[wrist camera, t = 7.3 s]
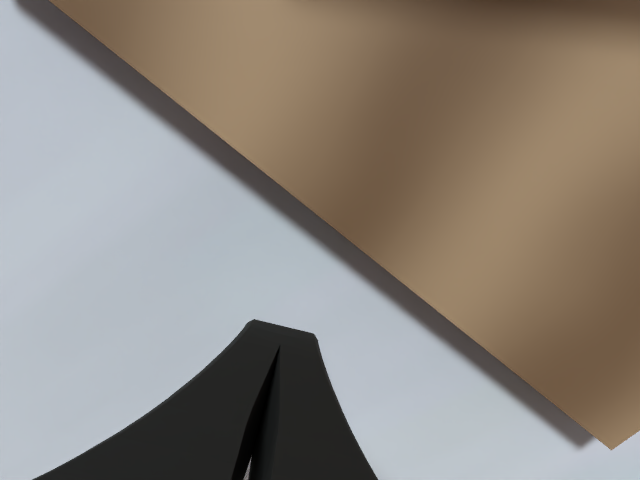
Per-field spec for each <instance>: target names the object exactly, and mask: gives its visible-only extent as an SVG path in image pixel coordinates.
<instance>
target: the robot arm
mask: <svg viewBox="0 0 640 480" xmlns="http://www.w3.org/2000/svg"><path fill="white" fill-rule="evenodd" d="M251 456H252V458H251ZM250 459H251V465H250V472H249V480H378V479H377V477H376V475H375V474H374V472H373V470H372V468H371V467H370V465H369V463H368V461H367V460H366V458H365V456H364V454H363V452H362V450H361V448H360V447H359V445H358V443H357V441H356V439H355V437H354V435H353V433H352V431H351V429H350V427H349V424H348V422H347V420H346V418H345V416H344V414H343V411H342V409H341V407H340V404H339V402H338V399H337V397H336V395H335V392H334V390H333V387H332V385H331V382H330V380H329V377H328V374H327V371H326V368H325V365H324V362H323V359H322V356H321V352H320V348H319V344H318V340H317V338H316V337H315V335H314V334H313V333H309V332H305V331H301V330H296V329H292V328H288V327H284V326H280V325H276V324H272V323H267V322H263V321H259V320H255V319H254V320H252V321H250V322H248V323H247V324H246V326H245V327H244V328H243V330H242V331H241V332H240V333H239V334H238V336H237V337H236V338H235V339H234V340H233V341H232V342H231V343H230V344H229V345H228V346H227V347H226V348H225V349H224V350H223V351H222V352H221V353H220V354H219V355H218V356H217V357H216V358H215V359H214V360H213V361H212V362H211V363H209V364H208V365H207V366H206V367H205V368H204V369H203V370H202V371H201V372H200V373H199V374H197V375H196V376H195V377H194V378H193V379H191V380H190V381H189V382H188V383H186V384H185V385H184V386H183V387H181V388H180V389H179V390H178V391H176V392H175V393H174V394H173V395H171V396H170V397H169V398H168V399H166V400H165V401H164V402H162V403H161V404H159V405H158V406H157V407H155V408H154V409H153V410H151V411H150V412H148V413H147V414H145V415H144V416H143V417H141V418H140V419H138V420H136V421H135V422H133V423H132V424H130V425H129V426H127V427H126V428H124V429H123V430H121V431H120V432H118V433H116V434H115V435H113V436H111V437H110V438H108V439H106V440H105V441H103V442H101V443H100V444H98V445H96V446H94V447H93V448H91V449H89V450H88V451H86V452H84V453H83V454H81V455H79V456H77V457H75V458H74V459H72V460H70V461H68V462H66V463H65V464H63V465H61V466H59V467H57V468H55V469H53V470H51V471H49V472H47V473H45V474H43V475H41V476H39V477H37V478H35V479H33V480H243V479H244V476H245V473H246V471H247V468H248V465H249V462H250Z"/></svg>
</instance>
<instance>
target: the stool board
mask: <svg viewBox="0 0 640 480" xmlns="http://www.w3.org/2000/svg"><path fill="white" fill-rule="evenodd" d="M49 1H50V2H51V3H53V4H54V5H55V6H56V7H58V8H59V9H60V10H61V11H63V12H64V13H65V14H66V15H68V16H69V17H70V18H71V19H73V20H74V21H75V22H76V23H78V24H79V25H80V26H81V27H83V28H84V29H85V30H86V31H88V32H89V33H90V34H91V35H93V36H94V37H95V38H96V39H98V40H99V41H100V42H101V43H103V44H104V45H105V46H106V47H108V48H109V49H110V50H111V51H113V52H114V53H115V54H116V55H118V56H119V57H120V58H121V59H123V60H124V61H125V62H126V63H128V64H129V65H130V66H131V67H133V68H134V69H135V70H136V71H138V72H139V73H140V74H141V75H143V76H144V77H145V78H146V79H148V80H149V81H150V82H151V83H153V84H154V85H155V86H156V87H158V88H159V89H160V90H161V91H163V92H164V93H165V94H166V95H168V96H169V97H170V98H171V99H173V100H174V101H175V102H176V103H178V104H179V105H180V106H181V107H183V108H184V109H185V110H186V111H188V112H189V113H190V114H191V115H193V116H194V117H195V118H196V119H198V120H199V121H200V122H201V123H203V124H204V125H205V126H206V127H208V128H209V129H210V130H211V131H213V132H214V133H215V134H216V135H218V136H219V137H220V138H221V139H223V140H224V141H225V142H226V143H228V144H229V145H230V146H231V147H233V148H234V149H235V150H236V151H238V152H239V153H240V154H241V155H243V156H244V157H245V158H246V159H248V160H249V161H250V162H251V163H253V164H254V165H255V166H256V167H258V168H259V169H260V170H261V171H263V172H264V173H265V174H266V175H268V176H269V177H270V178H271V179H273V180H274V181H275V182H276V183H278V184H279V185H280V186H281V187H283V188H284V189H285V190H287V191H288V192H289V193H290V194H292V195H293V196H294V197H295V198H297V199H298V200H299V201H300V202H302V203H303V204H304V205H305V206H307V207H308V208H309V209H310V210H312V211H313V212H314V213H315V214H317V215H318V216H319V217H320V218H322V219H323V220H324V221H325V222H327V223H328V224H329V225H330V226H332V227H333V228H334V229H335V230H337V231H338V232H339V233H340V234H342V235H343V236H344V237H345V238H347V239H348V240H349V241H350V242H352V243H353V244H354V245H355V246H357V247H358V248H359V249H360V250H362V251H363V252H364V253H365V254H367V255H368V256H369V257H370V258H372V259H373V260H374V261H375V262H377V263H378V264H379V265H380V266H382V267H383V268H384V269H385V270H387V271H388V272H389V273H390V274H392V275H393V276H394V277H395V278H397V279H398V280H399V281H400V282H402V283H403V284H404V285H405V286H407V287H408V288H409V289H410V290H412V291H413V292H414V293H415V294H417V295H418V296H419V297H420V298H422V299H423V300H424V301H425V302H427V303H428V304H429V305H430V306H432V307H433V308H434V309H435V310H437V311H438V312H439V313H440V314H442V315H443V316H444V317H445V318H447V319H448V320H449V321H450V322H452V323H453V324H454V325H455V326H457V327H458V328H459V329H460V330H462V331H463V332H464V333H465V334H467V335H468V336H469V337H470V338H472V339H473V340H474V341H475V342H477V343H478V344H479V345H480V346H482V347H483V348H484V349H485V350H487V351H488V352H489V353H490V354H492V355H493V356H494V357H495V358H497V359H498V360H499V361H500V362H502V363H503V364H504V365H505V366H507V367H508V368H509V369H510V370H512V371H513V372H514V373H515V374H517V375H518V376H519V377H520V378H522V379H523V380H524V381H525V382H527V383H528V384H529V385H530V386H532V387H533V388H534V389H535V390H537V391H538V392H539V393H540V394H542V395H543V396H544V397H545V398H547V399H548V400H549V401H550V402H552V403H553V404H554V405H555V406H557V407H558V408H559V409H560V410H562V411H563V412H564V413H565V414H567V415H568V416H569V417H570V418H572V419H573V420H574V421H575V422H577V423H578V424H579V425H580V426H582V427H583V428H584V429H585V430H587V431H588V432H589V433H590V434H592V435H593V436H594V437H595V438H597V439H598V440H599V441H600V442H602V443H603V444H604V445H605V446H607V447H608V448H609V449H611V450H613V449H614V448H615V447H617V446H618V445H620V444H621V443H623V442H624V441H625V440H627V439H628V438H630V437H631V436H632V435H634V434H635V433H637V432H638V431H639V430H640V0H49Z"/></svg>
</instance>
